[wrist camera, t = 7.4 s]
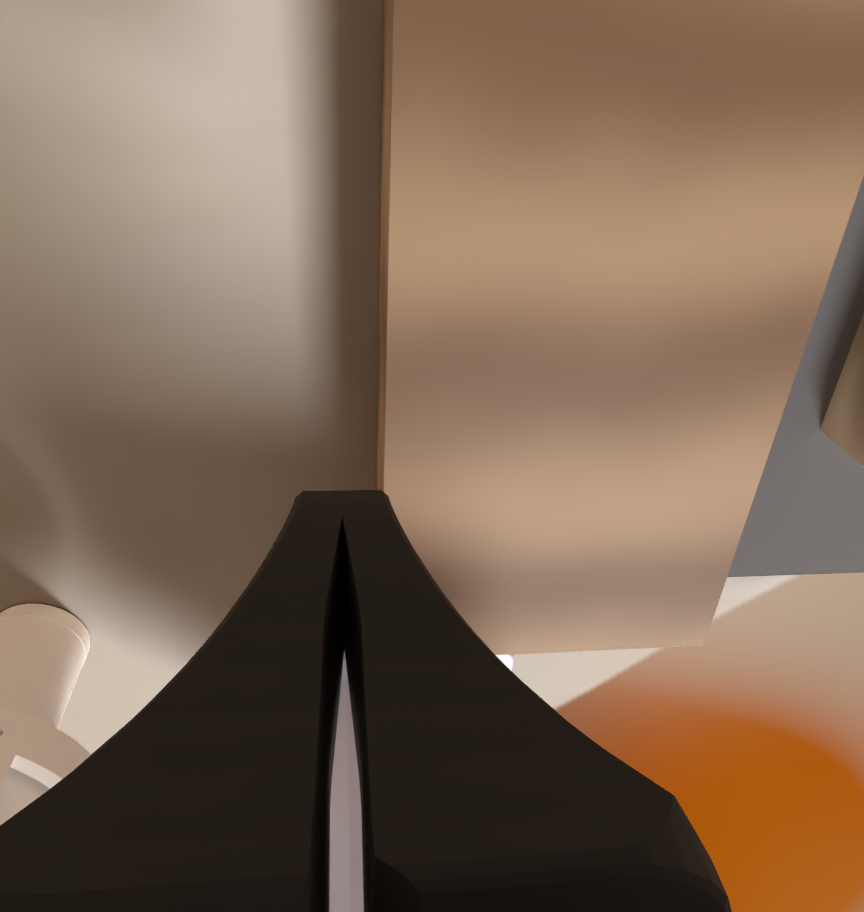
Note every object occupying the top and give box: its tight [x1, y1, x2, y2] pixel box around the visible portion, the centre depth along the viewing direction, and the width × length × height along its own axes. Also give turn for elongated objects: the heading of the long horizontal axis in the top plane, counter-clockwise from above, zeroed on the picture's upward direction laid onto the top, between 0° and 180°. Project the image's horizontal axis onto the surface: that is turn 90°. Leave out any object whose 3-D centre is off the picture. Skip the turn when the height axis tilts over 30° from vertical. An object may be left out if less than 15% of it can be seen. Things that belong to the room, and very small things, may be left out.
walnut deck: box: [377, 0, 864, 655], centre depth 19 cm, size 18×10×4 cm, turn 177°
